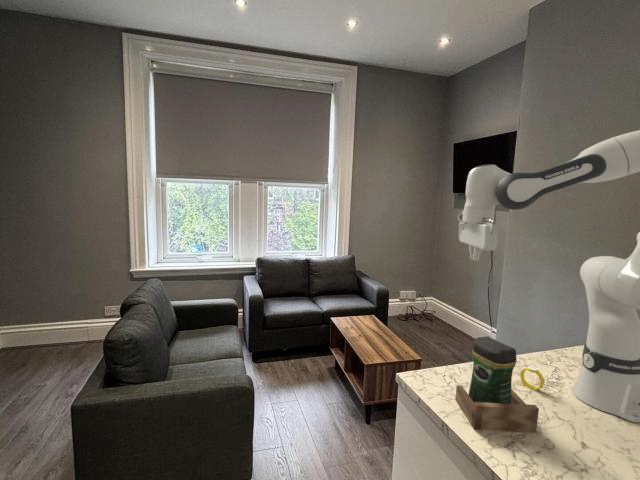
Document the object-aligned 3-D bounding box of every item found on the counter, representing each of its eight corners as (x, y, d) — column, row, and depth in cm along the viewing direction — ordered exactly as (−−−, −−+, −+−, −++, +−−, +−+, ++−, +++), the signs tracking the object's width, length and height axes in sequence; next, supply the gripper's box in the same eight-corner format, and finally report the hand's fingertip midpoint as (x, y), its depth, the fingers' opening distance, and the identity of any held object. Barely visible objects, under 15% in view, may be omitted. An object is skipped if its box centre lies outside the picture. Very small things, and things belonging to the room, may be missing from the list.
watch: (518, 384, 100) (519, 365, 99) (523, 382, 101) (524, 362, 101) (539, 393, 95) (540, 373, 94) (545, 391, 96) (546, 370, 96)
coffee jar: (516, 418, 84) (524, 347, 81) (492, 426, 81) (500, 352, 78) (484, 396, 92) (490, 331, 90) (461, 402, 89) (468, 335, 87)
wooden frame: (509, 402, 90) (511, 381, 90) (536, 432, 79) (539, 408, 78) (455, 399, 91) (457, 378, 90) (473, 429, 79) (476, 405, 78)
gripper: (505, 219, 97) (500, 267, 98) (475, 215, 117) (471, 255, 119) (483, 218, 97) (478, 266, 99) (456, 215, 117) (453, 254, 119)
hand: (474, 260), depth 109 cm, fingers closed
